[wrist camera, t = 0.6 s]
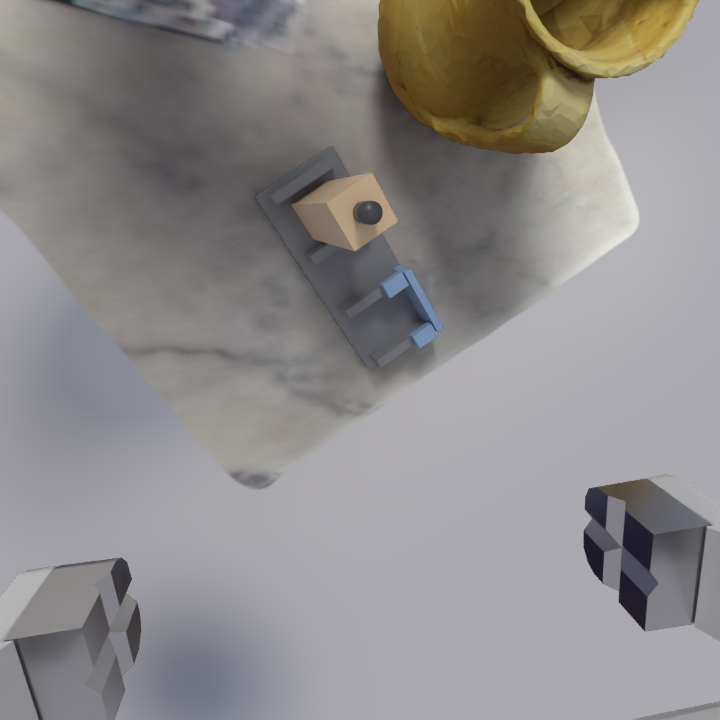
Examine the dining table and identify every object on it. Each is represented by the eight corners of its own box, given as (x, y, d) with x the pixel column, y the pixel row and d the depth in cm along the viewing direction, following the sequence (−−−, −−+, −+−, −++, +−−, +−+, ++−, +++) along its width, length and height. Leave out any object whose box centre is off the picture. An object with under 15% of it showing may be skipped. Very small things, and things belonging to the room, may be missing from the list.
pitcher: (550, 47, 54) (792, -65, 30) (435, 188, 55) (583, 184, 32) (439, -100, 47) (641, -381, 24) (314, 65, 49) (390, -50, 26)
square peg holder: (254, 196, 50) (259, 195, 45) (329, 146, 50) (341, 141, 46) (366, 368, 58) (379, 380, 54) (429, 323, 59) (447, 332, 55)
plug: (290, 204, 50) (333, 203, 34) (324, 181, 50) (381, 170, 35) (312, 239, 51) (362, 253, 36) (345, 217, 52) (408, 222, 36)
